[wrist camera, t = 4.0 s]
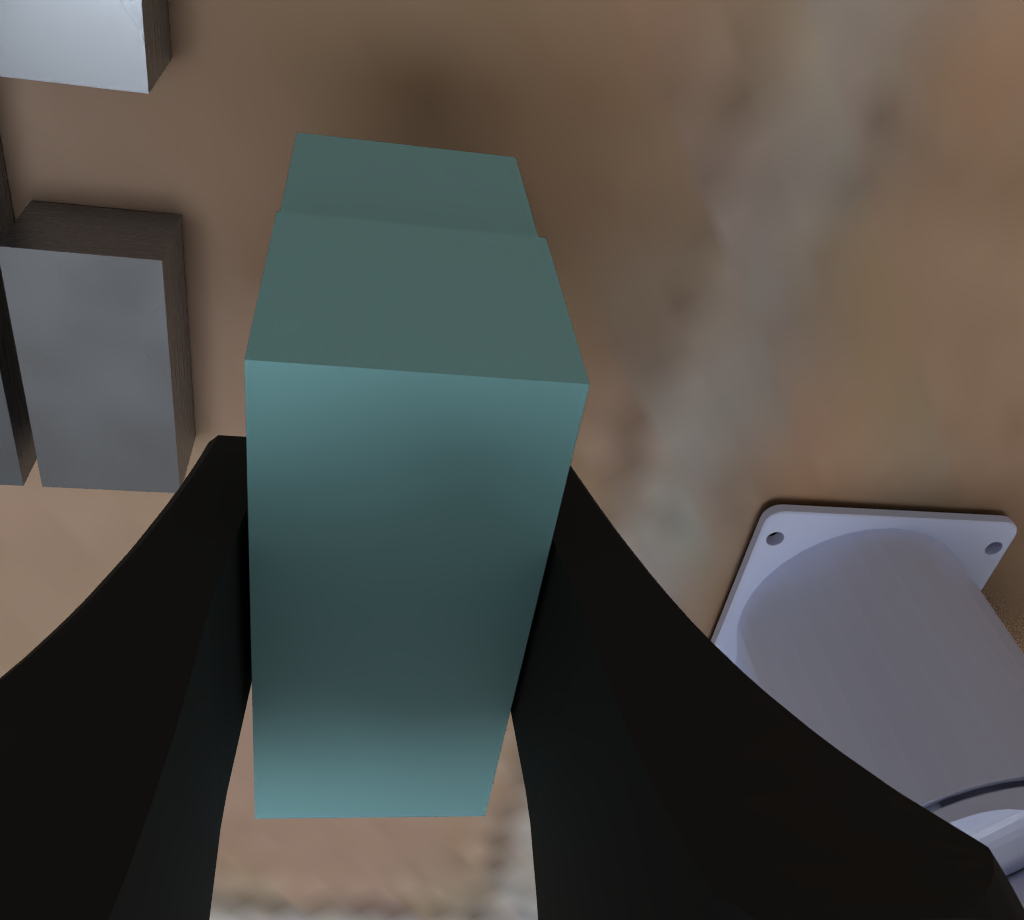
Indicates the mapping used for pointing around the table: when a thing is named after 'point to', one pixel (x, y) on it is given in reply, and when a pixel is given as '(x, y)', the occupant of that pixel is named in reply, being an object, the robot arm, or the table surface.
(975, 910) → the robot arm
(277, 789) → the clip
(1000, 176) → the table surface
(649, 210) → the table surface
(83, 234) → the rail
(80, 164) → the table surface
